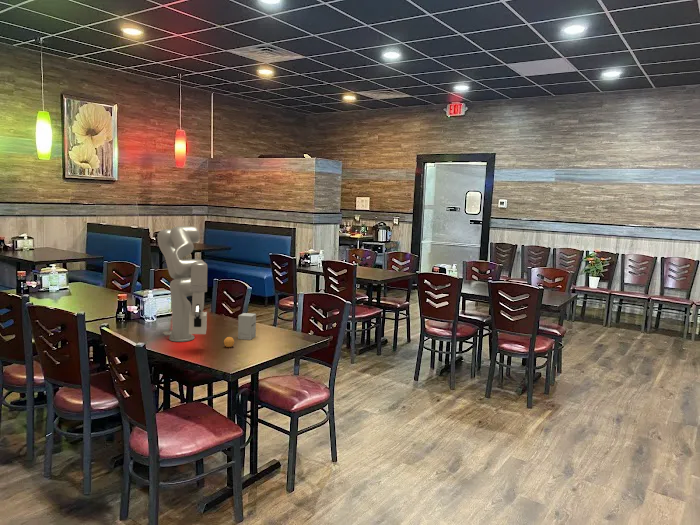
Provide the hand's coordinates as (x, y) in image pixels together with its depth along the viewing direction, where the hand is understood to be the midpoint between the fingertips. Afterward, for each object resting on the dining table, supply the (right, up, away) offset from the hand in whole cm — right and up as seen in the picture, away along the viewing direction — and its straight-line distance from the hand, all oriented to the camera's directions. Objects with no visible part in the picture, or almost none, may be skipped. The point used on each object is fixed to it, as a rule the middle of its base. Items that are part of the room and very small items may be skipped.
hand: (198, 324), depth 260 cm
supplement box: (+18, -11, +28) cm, 35 cm away
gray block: (0, -4, +1) cm, 4 cm away
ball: (+13, -10, +9) cm, 18 cm away
